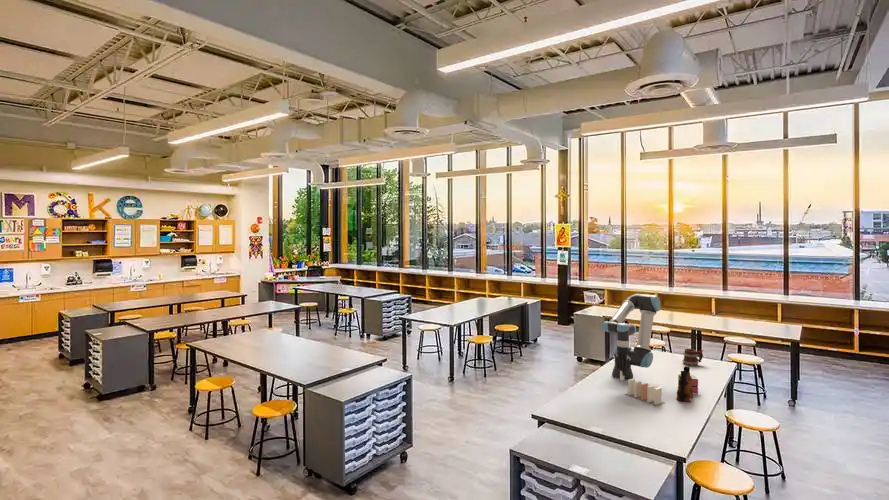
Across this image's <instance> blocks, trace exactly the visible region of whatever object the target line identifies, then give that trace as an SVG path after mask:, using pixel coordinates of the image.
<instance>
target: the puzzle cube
mask: <svg viewBox="0 0 889 500" xmlns="http://www.w3.org/2000/svg"><path fill="white" fill-rule="evenodd" d="M680 376H681V373H679V374H678V376H677V377H678V378H677V379H678V380H679V379H680ZM690 376H691V377H692V389H693V391H692V392H693V394H699V379H698V378H697V377H696V375H694V374H690ZM678 380H677V381H678ZM678 383H679V382H678ZM678 383H677V384H678Z"/></svg>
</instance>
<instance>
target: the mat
mask: <svg viewBox="0 0 889 500" xmlns="http://www.w3.org/2000/svg"><path fill="white" fill-rule="evenodd" d="M624 396H626V397H629V398H632V399H635V400H637V401H640V402H642V403H645V404H648V405H651V406H654V407H657V406H661V405H665V402H664V401H661V404H657V405H656V404H654V401H652V402H647V399H644V400H642V399H641V396H640V397H634V394H632V395H628V393H625V394H624Z"/></svg>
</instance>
